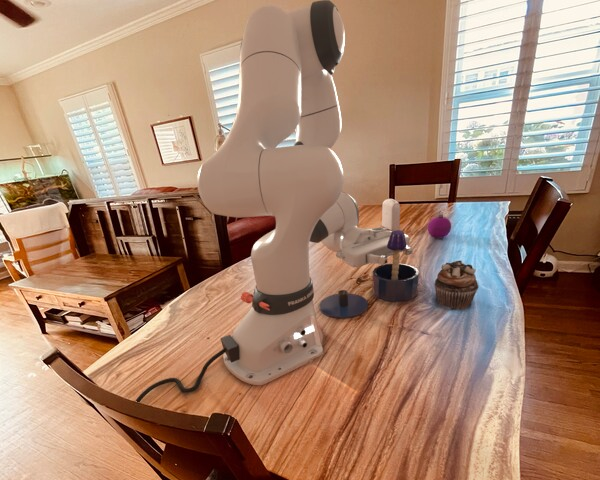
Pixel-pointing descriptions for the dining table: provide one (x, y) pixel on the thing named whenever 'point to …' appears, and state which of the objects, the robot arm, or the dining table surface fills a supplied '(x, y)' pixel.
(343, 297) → the pot lid
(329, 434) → the dining table surface
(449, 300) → the cupcake
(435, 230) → the christmas ornament
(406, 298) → the pot
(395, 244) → the toy lamp
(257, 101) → the robot arm
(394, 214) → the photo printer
